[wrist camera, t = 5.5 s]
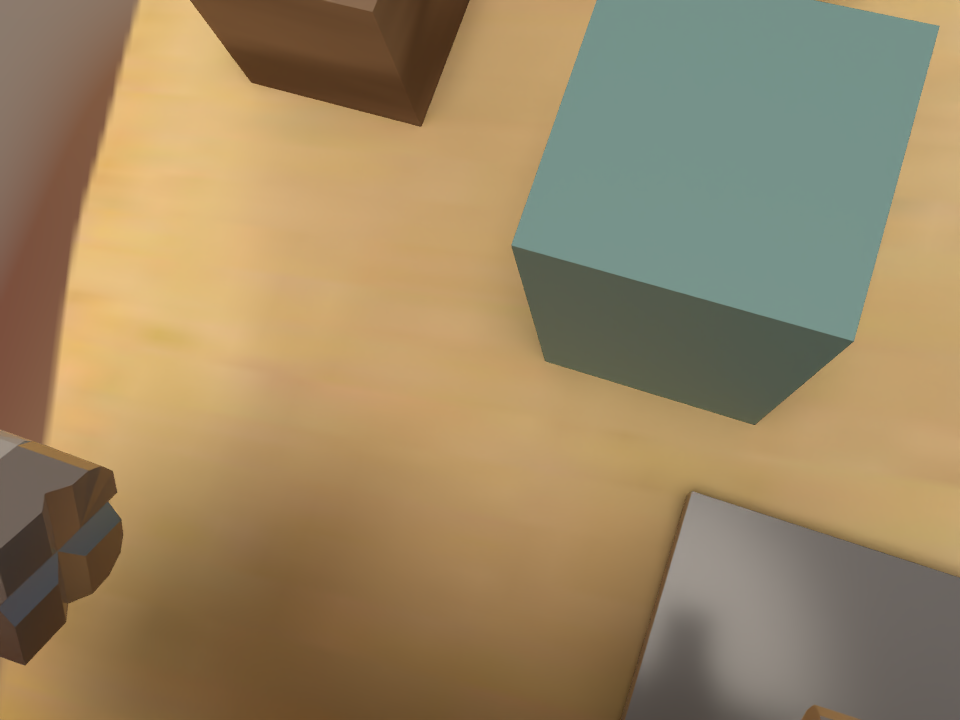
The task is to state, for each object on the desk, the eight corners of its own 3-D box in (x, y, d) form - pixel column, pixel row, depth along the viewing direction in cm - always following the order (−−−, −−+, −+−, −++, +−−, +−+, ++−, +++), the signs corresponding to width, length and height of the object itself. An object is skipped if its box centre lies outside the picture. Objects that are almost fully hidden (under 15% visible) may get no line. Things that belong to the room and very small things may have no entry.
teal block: (754, 425, 20) (853, 341, 12) (545, 361, 21) (511, 245, 13) (811, 225, 20) (939, 25, 13) (607, 173, 21) (611, -42, 14)
